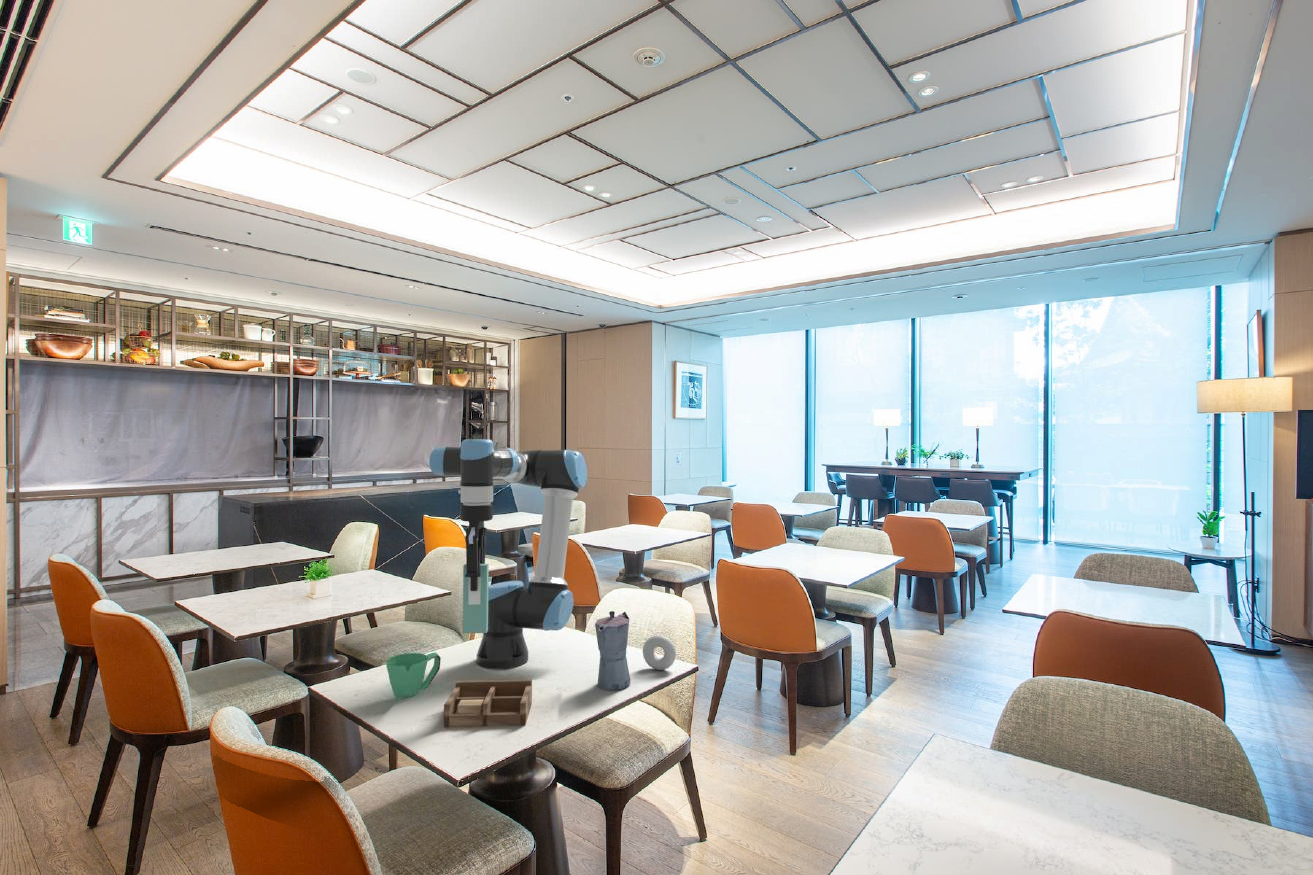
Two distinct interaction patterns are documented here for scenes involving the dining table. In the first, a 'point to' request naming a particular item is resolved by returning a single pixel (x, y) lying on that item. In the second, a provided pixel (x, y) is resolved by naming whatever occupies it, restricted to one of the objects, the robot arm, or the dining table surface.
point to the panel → (476, 614)
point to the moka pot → (613, 651)
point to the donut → (651, 657)
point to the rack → (490, 703)
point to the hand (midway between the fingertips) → (475, 602)
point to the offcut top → (470, 706)
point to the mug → (410, 673)
